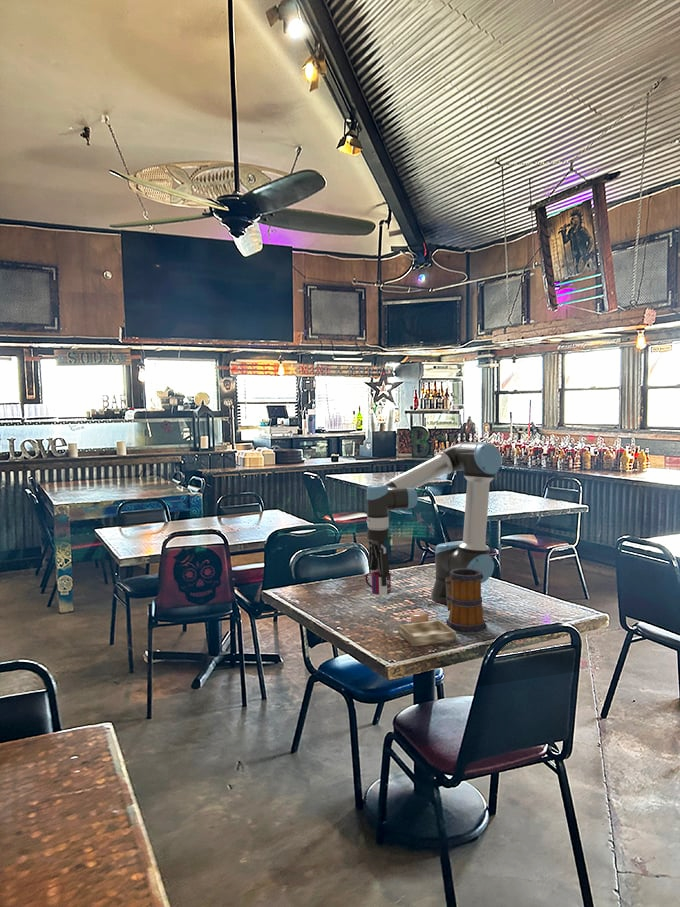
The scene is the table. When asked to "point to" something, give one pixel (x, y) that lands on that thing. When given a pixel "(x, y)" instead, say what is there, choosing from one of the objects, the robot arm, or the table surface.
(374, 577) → the cup
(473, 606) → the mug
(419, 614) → the tan rounded block
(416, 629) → the wooden tray
